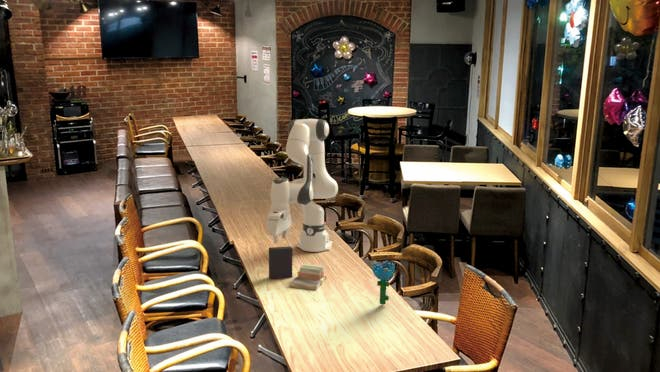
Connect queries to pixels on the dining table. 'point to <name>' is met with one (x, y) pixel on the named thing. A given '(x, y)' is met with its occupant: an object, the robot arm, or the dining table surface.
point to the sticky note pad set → (309, 277)
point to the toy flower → (383, 278)
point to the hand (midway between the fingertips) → (280, 240)
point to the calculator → (280, 262)
